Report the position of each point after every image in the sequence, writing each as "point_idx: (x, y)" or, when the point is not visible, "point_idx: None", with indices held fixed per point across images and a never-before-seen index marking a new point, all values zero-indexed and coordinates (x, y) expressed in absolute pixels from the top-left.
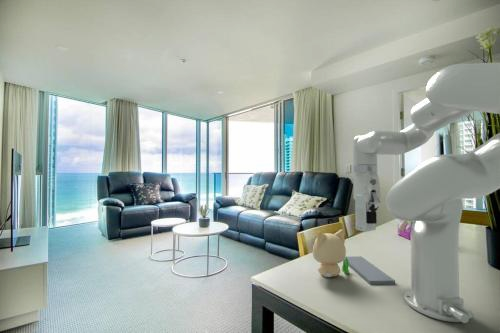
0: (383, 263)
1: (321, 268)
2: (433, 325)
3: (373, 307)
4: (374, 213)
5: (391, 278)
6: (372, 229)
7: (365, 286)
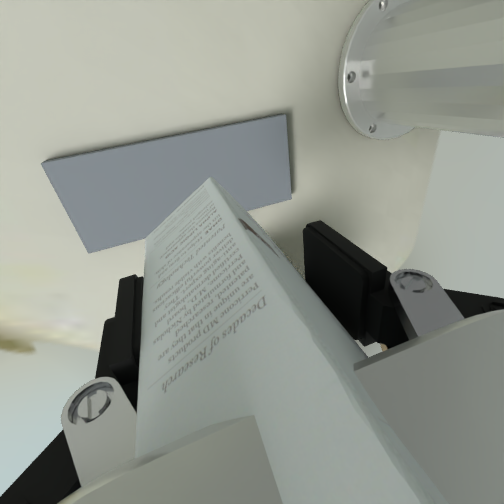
0: (68, 57)
1: None
2: None
3: (375, 215)
4: (389, 279)
5: (272, 120)
6: (248, 213)
7: (298, 209)
